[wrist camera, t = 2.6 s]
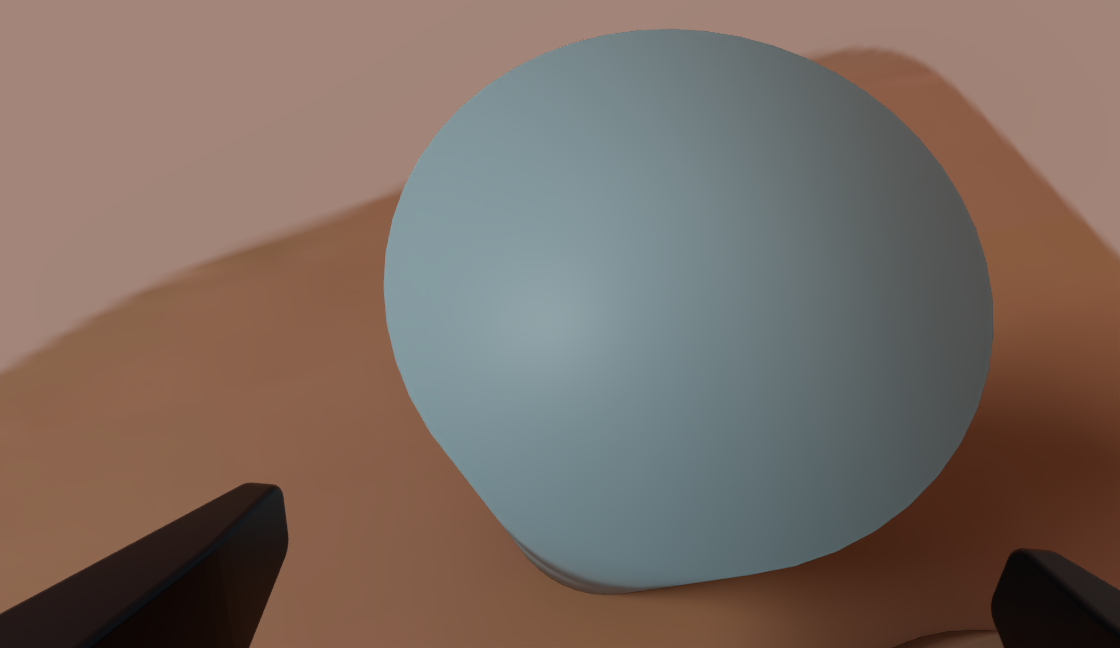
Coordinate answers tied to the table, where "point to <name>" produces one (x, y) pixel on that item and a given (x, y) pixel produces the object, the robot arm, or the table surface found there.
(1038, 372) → the table surface
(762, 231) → the blue-grey cylinder
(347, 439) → the table surface
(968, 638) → the walnut base
